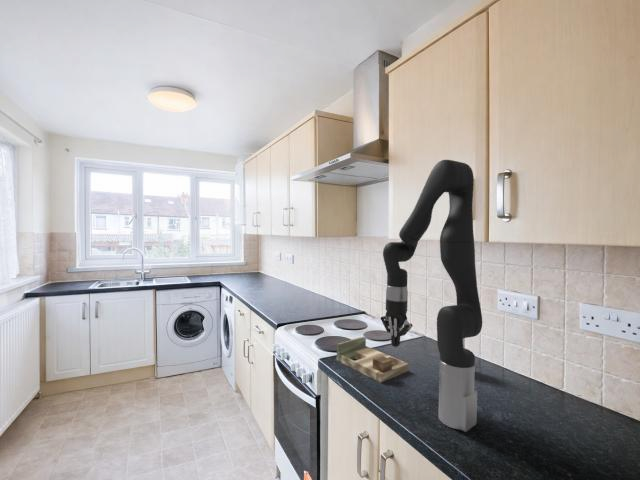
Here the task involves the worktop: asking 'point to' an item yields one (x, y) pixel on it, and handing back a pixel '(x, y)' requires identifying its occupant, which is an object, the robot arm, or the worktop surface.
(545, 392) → the worktop surface
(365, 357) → the tray
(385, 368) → the walnut block
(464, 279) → the robot arm
